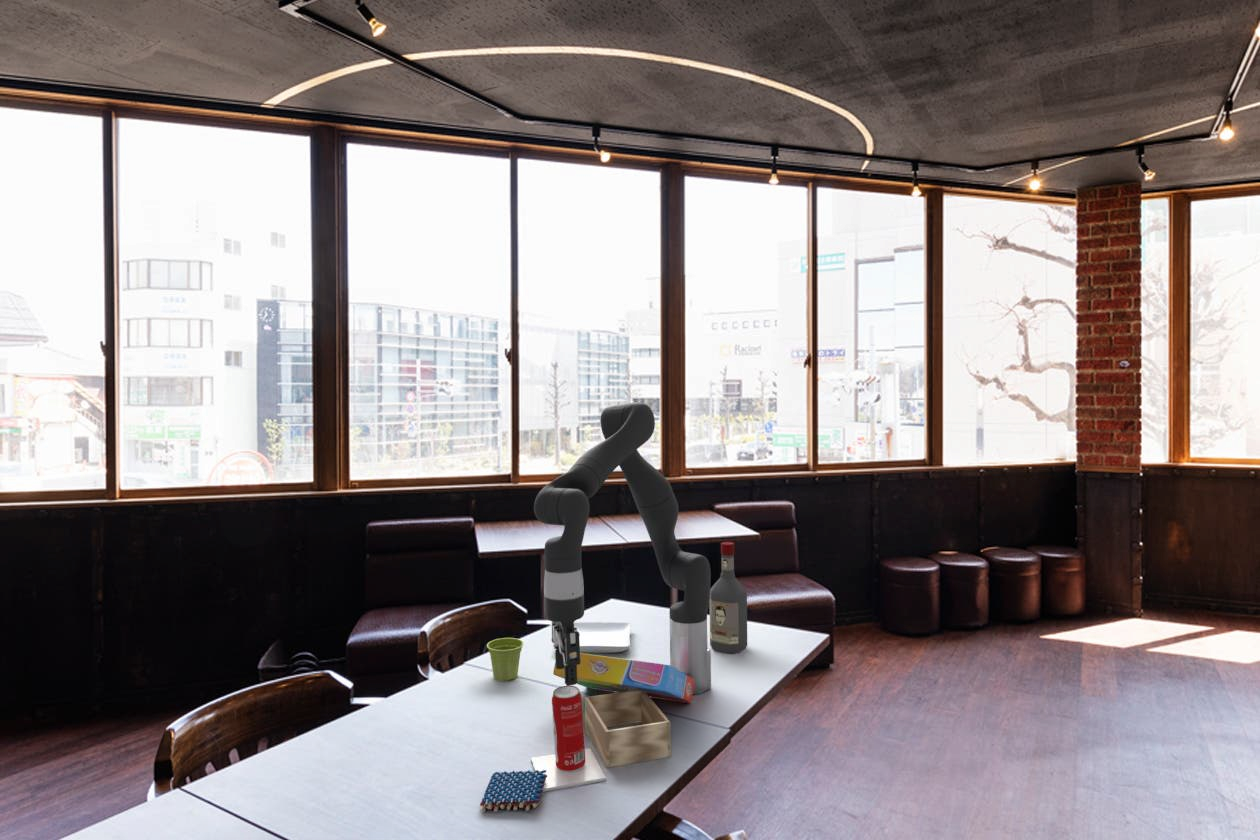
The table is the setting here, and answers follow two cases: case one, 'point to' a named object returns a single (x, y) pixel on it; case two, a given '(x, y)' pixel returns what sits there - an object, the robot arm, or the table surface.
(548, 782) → the coaster
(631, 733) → the crate
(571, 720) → the beverage can
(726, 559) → the liquor
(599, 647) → the salad plate
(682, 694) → the game box
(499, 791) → the woven mat
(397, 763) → the table surface
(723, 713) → the table surface
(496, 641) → the plant pot
